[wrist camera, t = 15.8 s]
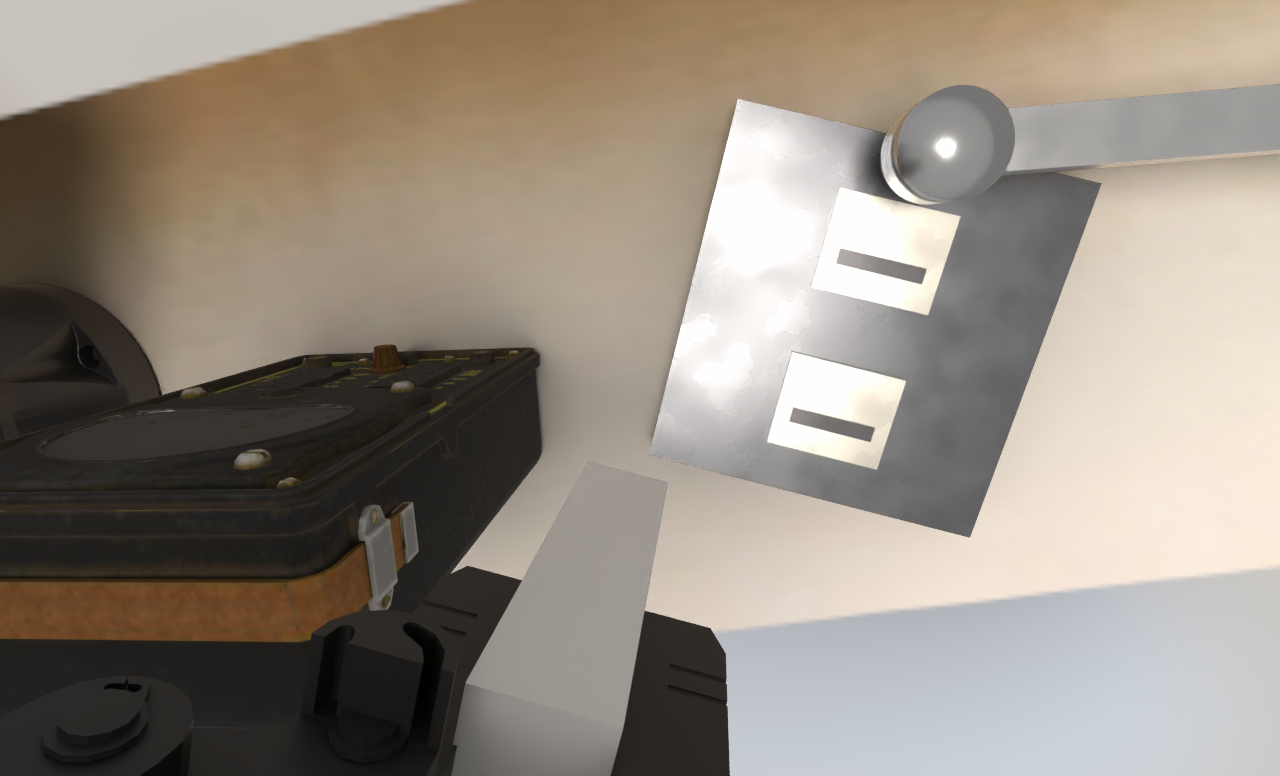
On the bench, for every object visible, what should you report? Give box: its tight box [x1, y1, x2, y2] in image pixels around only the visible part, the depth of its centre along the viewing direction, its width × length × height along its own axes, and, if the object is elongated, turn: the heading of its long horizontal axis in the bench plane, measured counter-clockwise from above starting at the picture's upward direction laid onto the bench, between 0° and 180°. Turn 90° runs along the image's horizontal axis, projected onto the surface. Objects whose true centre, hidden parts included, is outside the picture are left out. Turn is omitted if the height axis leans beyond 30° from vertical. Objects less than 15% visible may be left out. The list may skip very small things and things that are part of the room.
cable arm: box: [881, 84, 1280, 205], centre depth 29 cm, size 4×21×4 cm, turn 94°
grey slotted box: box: [649, 99, 1101, 537], centre depth 37 cm, size 18×20×6 cm
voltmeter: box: [0, 345, 541, 729], centre depth 31 cm, size 16×9×25 cm, turn 93°
